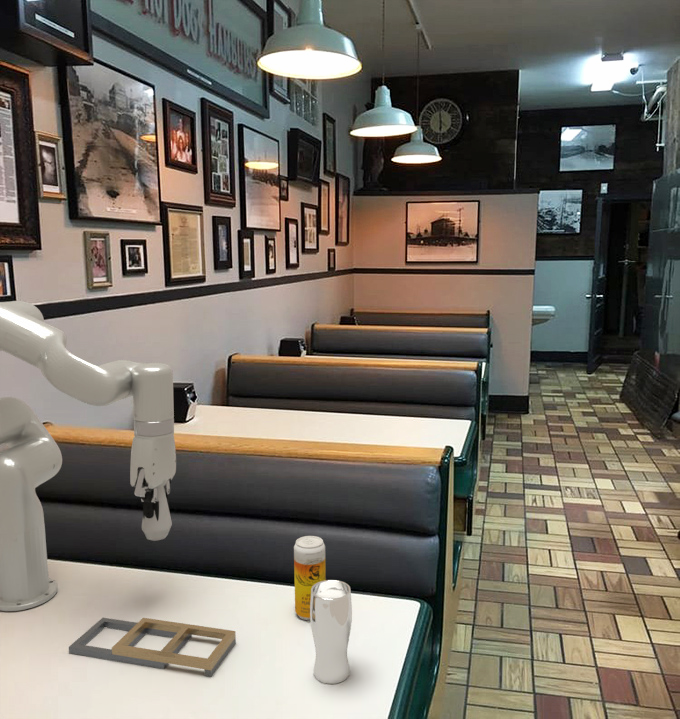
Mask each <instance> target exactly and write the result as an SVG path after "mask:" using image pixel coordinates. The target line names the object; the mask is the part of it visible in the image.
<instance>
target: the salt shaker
mask: <svg viewBox="0 0 680 719" xmlns="http://www.w3.org/2000/svg"><path fill="white" fill-rule="evenodd" d="M166 482H167V481H166V479H165V480H164V481H163V483H162V484H160V485H159V486H157V501H159V519H158V521H157V518H156V515H155V511H154V516H153V517H152V518H150V519H149V518H146V517H145V518H144V519H143V518H142V521H141V526H140V527H141V530H142V532H143V533H144V535H145V537H146V540H148V541H149V540H150V541H152V542H153V541H154V542H155V541H156V542H157V541H160V540H164V539H166V537H167V536H168V535H169V533H170V530H171V527H172V525H173V521H172V517H171V513H170V506H169V507H168V503H167V498H166V494H165V489H164V485H166ZM146 485H148V483H146ZM147 491H148V492H150V493H151V491H152V490H147Z"/></svg>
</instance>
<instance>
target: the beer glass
mask: <svg viewBox="0 0 680 719" xmlns="http://www.w3.org/2000/svg"><path fill="white" fill-rule="evenodd" d="M351 589H352V588H351V586H350V585H349V584H348V583H346V582H345V581H342V580H337V579H326V580H325V581H321V582H318V583H316V584H315V585H313V586H312V588H311V601H310V620H309V621H310V626H311V628H310V629H311V633H312V634H311V635H312V638H313V643H314V648H315V660H314V664H313V665H314V666H313V676H314V678H315V679H316V680H318V681H319V682H321V683H322V684H323V683H324V684H328V685H334V684H335V685H336V684H340V683H342V682H344V681H346V680H347V679H348V678H349V676H350V672H351V670H350V664H349V658H348V647H349V641H350V636H351V630H352V623H353V622H352V621H353V604H352V595H351Z"/></svg>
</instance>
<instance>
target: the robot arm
mask: <svg viewBox="0 0 680 719" xmlns="http://www.w3.org/2000/svg"><path fill="white" fill-rule="evenodd" d="M66 347H67V336H66V334H65V332H64V331H63V330H61V329H59V328H57V327H56V326H52V325H51V324H49V323H46V321H45V319H44V315H43V313H42V312H41V310H40V309H39V308H38V307H37V306H35V305H34V304H32V303H30V302H27V301H24V300H12V301H0V352H2V351H3V352H4V353H6V354H8V355H12V356H13V357H14V358H15V357H16V358H17V359H19V360H21V361H23V362H25V363H27V364H29V365H31V366H33V367H34V368H35V367H36V368H38V369H39V371H40V372H41V373H42V375H43V376H44V378H45V379H46V380H47V381H48V382H49V383H50V384H51V386H53V387H54V388H55V389H56V390H58V391H59V392H61V393H63V394H65V395H67V396H69V397H71V398H73V399H75V400H78V401H79V402H82V403H84V404H87V405H90V406H94V407H106V406H109V405H112V404H114V403H116V402H119V401H121V400H124V399H127V398H130V397H132V404H133V406H132V409H133V435H134V436H133V438H132V443H131V444H132V445H131V450H130V451H131V452H130V467H129V469H130V471H129V472H130V473H129V474H130V476H129V479H130V483H129V484H130V486H131V487H133V488H135V489H134V492H133V493H134V495H135V496H136V497H139V498H140V500H141V503H142V515H143V516H142V520H143V519H144V518H145V517H146V518H149V519H150V518H152V517H153V516H154V511H155V515H156V518H157V521H158V519H159V501H157V486H159V485H160V484H162V483H163V481H164V480H165V479H166V481H167V482H166V485H164V489H165V494H166V498H167V503H168V507H169V508H170V496H169V494H170V493H171V484H172V480H173V478H174V477H175V474H176V472H177V452H176V442H175V418H174V417H175V415H174V414H175V413H174V412H175V411H174V409H175V408H174V405H175V404H174V373H173V369H172V367H171V365H169V364H166V363H164V362H163V363H161V362H149V363H148V362H147V363H144V362H138V361H132V360H128V359H127V360H126V359H118V360H113V361H111V362H107V363H102V364H100V365H95V364H94V363H91V362H89V361H87V360H85V359H82V358H81V357H78V356H77V355H75V354H73V353H72V352H70V351H69V350H68V349H67V348H66ZM4 445H6V446H7V447H8V448H7V449H5V450H3V451H1V452H0V611H1V612H19V611H23V610H27V609H28V610H29V609H31V608H36V607H38V606H40V605H42V604H44V603H47V602H48V601H50V600H51V599H52V598H53V597H54V596H55V595H56V594H57V592H58V583H57V582H56V580H55V579H52V578H50V577H49V568H48V566H49V565H48V552H47V542H46V540H47V539H46V527H45V526H46V524H45V517H44V516H45V515H44V510H43V506H42V502H41V501H40V499H39V497H38V495H37V492H36V488H38V487H39V486H40V485H42V484H44V483H45V482H47V481H49V480H51V479H52V478H53V477H55V476H56V475H57V474H58V473H59V472H60V470H61V468H62V466H63V465H62V464H63V456H62V452H61V449H60V447H59V446H58V444H57V442H56V441H55V439H54V438H53V436H52V435H51V434H50V432H49V430H48V429H47V428H46V426H45V425H44V424H43V422H42V420H40V418H39V417H38V415H37V413H36V412H35V411H34V410H33V409H32V407H31V406H30V405H29V404H28V403H26V402H25V401H23V400H21V399H19V398H17V397H12V396H4V397H0V447H2V446H4ZM146 483H148V485H146ZM147 490H152V491H151V493H150V492H148V491H147Z"/></svg>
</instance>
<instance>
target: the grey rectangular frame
mask: <svg viewBox="0 0 680 719" xmlns="http://www.w3.org/2000/svg"><path fill="white" fill-rule="evenodd" d="M137 623H138V622H135V621H128V620H123V619H116V618H115V619H113V618H111V617H110V618H108V617H101V618H100V619H99V620H98V621H97V622H96V623H95V624H93V625H92V626H91V627H90V628H89V629H87V630H86V631H85V632H84V633H83V634H82V635H81V636H79V637H78V638H77V639H76V640H75V641H74V642H72V643H71V644H70V645H69V646H68V654H72V655H77V656H83V657H90V658H96V659H103V660H106V659H107V661H113V662H114V661H115V662H118V661H119V663H120V662H121V663H125V664H130V665H131V664H132V665H136V666H143V667H149V668H155V669H161V670H165V668H166V667H167V666H168V665H170V664H169V663H163V662H157V661H151V660H145V659H139V658H132V657H126V656H120V655H114V654H112V648H111V649H110V648H104V647H100V646H99V647H98V646H94V645H93V646H92V645H88V643H89V642H90V641H91V640H92V639H94V638H95V637H96V636H97V635H98V634H100V632H102V631H103V630H104V629H105V628H104V627H107V628H106V629H112V628H113V629H114V630H118V629H119V631H125V632H129V631H130V630H131V629H132V628H133V627H134V626H135V625H136V624H137ZM103 628H104V629H103ZM102 629H103V630H102ZM113 629H112V630H113ZM176 634H177V632H170V631H164V630H157V629H150V628H145V629H144V630H143V631H142V632H141V633H140V634H139V635H138V636H137V637H136V638H135V639H134V640H133V641H132V642H131V643H130V644H129V645H128V646H132V647H135V646H136V645H137V643H139V642H140V640H142V638H144V636H146V635H152V636H158V637H165V638H171V639H172V638H173V637H174V636H175V635H176ZM192 637H193V635H190V634H188V635H187V636H186V638H185V639H184V640H183V641H182V642H181V643H180V645H179V646H178V647H177V648H176V649H175V650H174V651H173V653H176V654H179V653H180V651H181V650H182V649H183V648H184V647H185V646H186V644H187V643H188V642H189V641H190V640H191V638H192Z"/></svg>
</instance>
